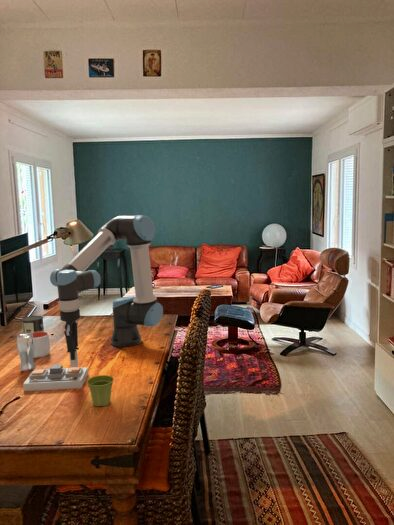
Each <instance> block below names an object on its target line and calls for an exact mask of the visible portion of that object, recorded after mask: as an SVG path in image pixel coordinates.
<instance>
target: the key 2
mask: <svg viewBox="0 0 394 525" xmlns="http://www.w3.org/2000/svg"><path fill="white" fill-rule="evenodd" d="M69 368H70V369H69V371H68V373H79V372H80V368H81V366H80V367H79V366H78V367H69Z"/></svg>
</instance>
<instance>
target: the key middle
mask: <svg viewBox="0 0 394 525" xmlns="http://www.w3.org/2000/svg"><path fill="white" fill-rule="evenodd" d="M63 367H64V366H63V364H52V365H51V366H50V368H49V369H50V373H52V372H61V370H62V369H63Z"/></svg>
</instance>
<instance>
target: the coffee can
mask: <svg viewBox="0 0 394 525" xmlns="http://www.w3.org/2000/svg"><path fill="white" fill-rule="evenodd" d="M21 324H22V334H25V333H35V332H45V328H44V317H43V316H42V315H28V316H25V317H22V318H21Z"/></svg>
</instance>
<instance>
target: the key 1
mask: <svg viewBox="0 0 394 525" xmlns="http://www.w3.org/2000/svg"><path fill="white" fill-rule="evenodd" d="M33 370H34V372H33V371H32V372H33V373H32V372H31V373H32V375H43V374H44V373H45V368H42V369H41V368H40V369H33Z"/></svg>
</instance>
